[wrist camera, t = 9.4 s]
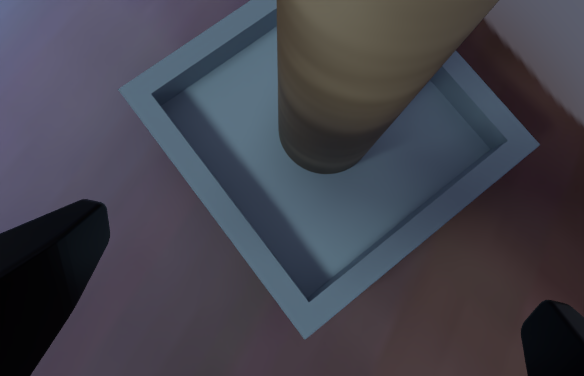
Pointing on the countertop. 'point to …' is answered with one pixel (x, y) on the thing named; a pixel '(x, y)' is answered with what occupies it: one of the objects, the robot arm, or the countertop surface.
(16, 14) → the countertop surface
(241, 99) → the tray
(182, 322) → the countertop surface
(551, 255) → the countertop surface
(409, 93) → the walnut spindle
